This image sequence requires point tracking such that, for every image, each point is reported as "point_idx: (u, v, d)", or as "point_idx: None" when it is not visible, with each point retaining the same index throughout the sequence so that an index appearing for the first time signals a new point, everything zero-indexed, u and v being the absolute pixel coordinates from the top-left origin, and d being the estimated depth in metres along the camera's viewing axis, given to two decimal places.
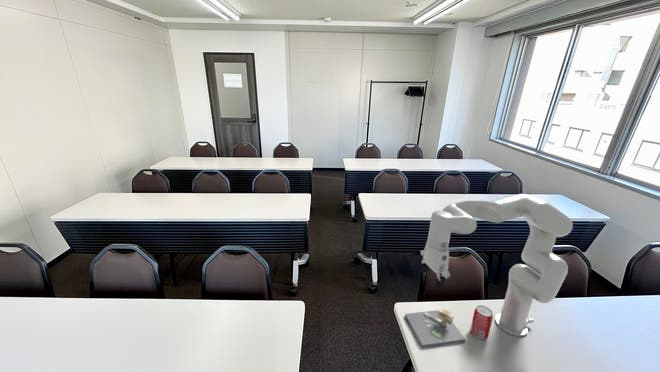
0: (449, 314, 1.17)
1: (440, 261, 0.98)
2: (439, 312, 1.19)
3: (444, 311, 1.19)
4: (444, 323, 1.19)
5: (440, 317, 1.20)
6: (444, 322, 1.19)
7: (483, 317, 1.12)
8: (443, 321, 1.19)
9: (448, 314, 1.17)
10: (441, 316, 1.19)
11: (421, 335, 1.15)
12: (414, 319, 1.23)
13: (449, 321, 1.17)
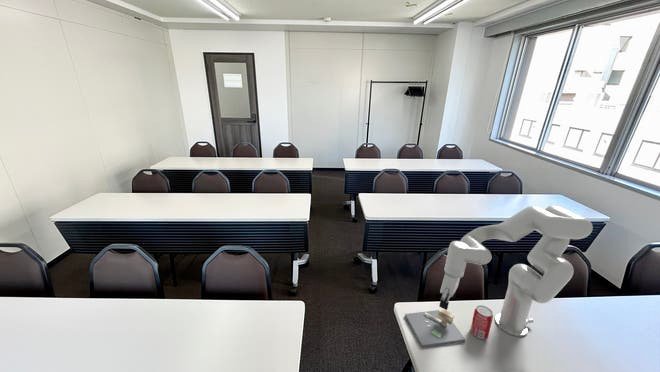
0: (449, 314, 1.17)
1: None
2: (439, 312, 1.19)
3: (444, 311, 1.19)
4: (444, 323, 1.19)
5: (440, 317, 1.20)
6: (444, 322, 1.19)
7: (483, 317, 1.12)
8: (443, 321, 1.19)
9: (448, 314, 1.17)
10: (441, 316, 1.19)
11: (421, 335, 1.15)
12: (414, 319, 1.23)
13: (449, 321, 1.17)
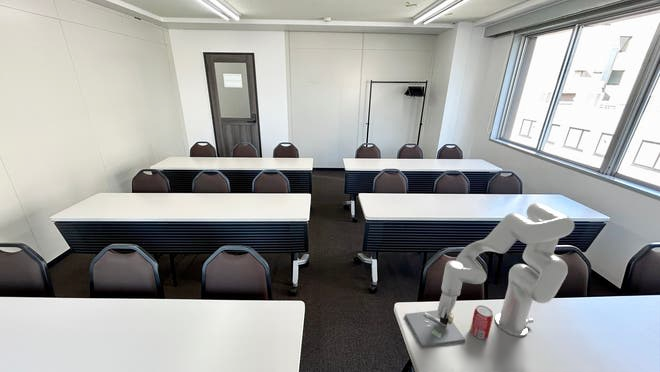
0: (449, 314, 1.17)
1: None
2: (439, 312, 1.19)
3: None
4: None
5: None
6: None
7: (483, 317, 1.12)
8: None
9: None
10: None
11: (421, 335, 1.15)
12: (414, 319, 1.23)
13: (449, 321, 1.17)
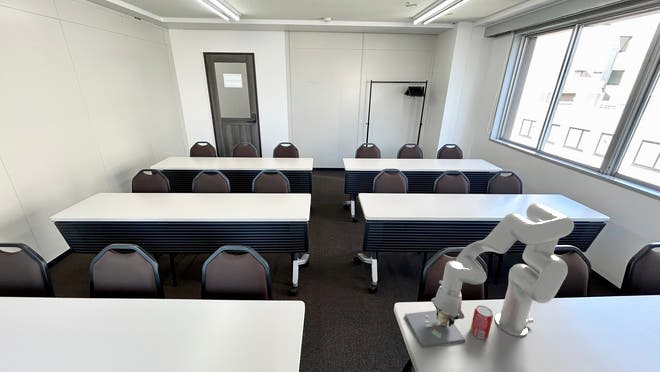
0: None
1: None
2: (442, 316, 1.17)
3: (444, 312, 1.18)
4: (446, 323, 1.19)
5: (443, 320, 1.18)
6: (446, 322, 1.19)
7: (484, 317, 1.12)
8: (445, 322, 1.19)
9: None
10: (443, 318, 1.18)
11: (421, 335, 1.15)
12: (414, 319, 1.23)
13: None
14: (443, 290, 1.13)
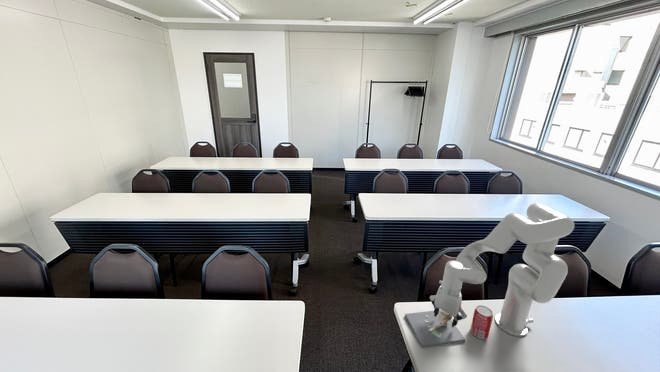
0: None
1: None
2: (444, 317, 1.17)
3: (445, 313, 1.18)
4: (447, 323, 1.19)
5: (444, 321, 1.18)
6: None
7: (483, 317, 1.12)
8: (446, 322, 1.19)
9: None
10: (445, 319, 1.17)
11: (421, 335, 1.15)
12: (414, 319, 1.23)
13: (450, 317, 1.19)
14: (443, 290, 1.13)
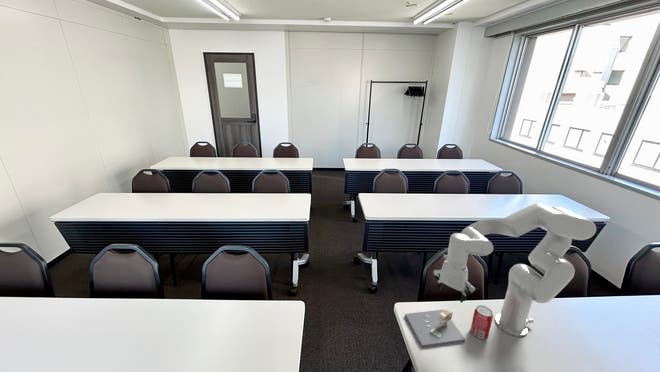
0: (448, 311, 1.19)
1: None
2: (444, 317, 1.16)
3: (445, 313, 1.18)
4: None
5: (445, 321, 1.18)
6: None
7: (484, 317, 1.12)
8: (446, 322, 1.19)
9: (448, 312, 1.19)
10: (445, 319, 1.17)
11: (421, 335, 1.15)
12: (414, 319, 1.23)
13: (450, 317, 1.19)
14: (448, 264, 1.09)
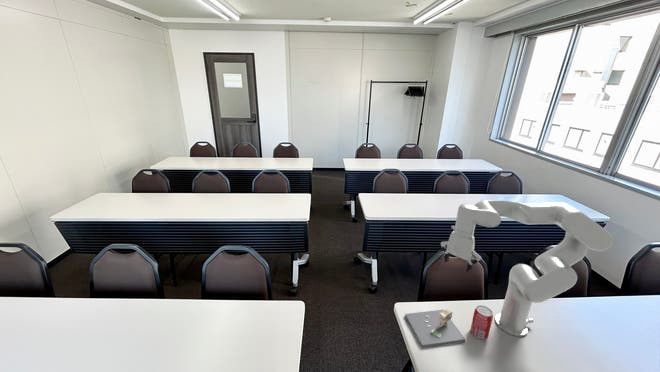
0: (448, 311, 1.19)
1: None
2: (444, 317, 1.16)
3: (445, 313, 1.18)
4: None
5: (445, 321, 1.18)
6: None
7: (483, 317, 1.12)
8: (446, 322, 1.19)
9: (448, 312, 1.19)
10: (445, 319, 1.17)
11: (421, 335, 1.15)
12: (414, 319, 1.23)
13: (450, 317, 1.19)
14: (456, 233, 1.13)
